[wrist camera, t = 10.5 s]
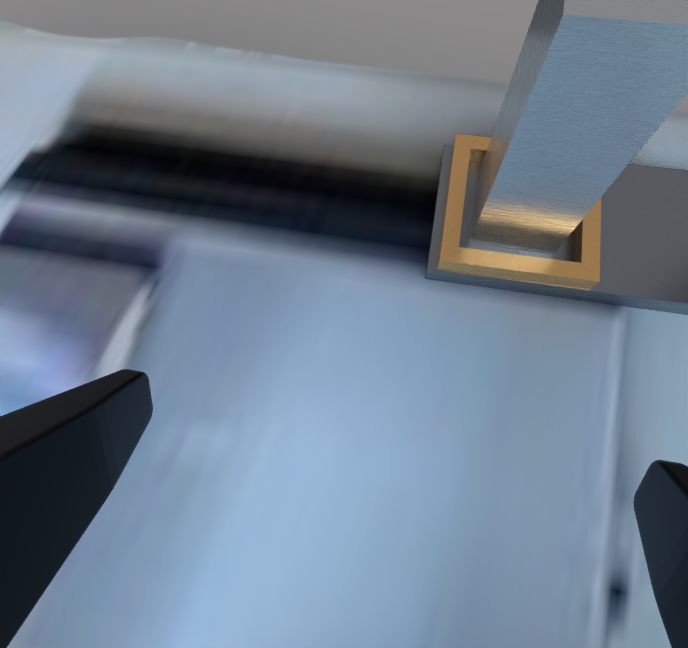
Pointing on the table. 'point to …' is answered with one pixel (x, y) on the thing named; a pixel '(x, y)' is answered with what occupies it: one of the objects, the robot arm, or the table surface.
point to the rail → (572, 239)
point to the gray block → (577, 114)
